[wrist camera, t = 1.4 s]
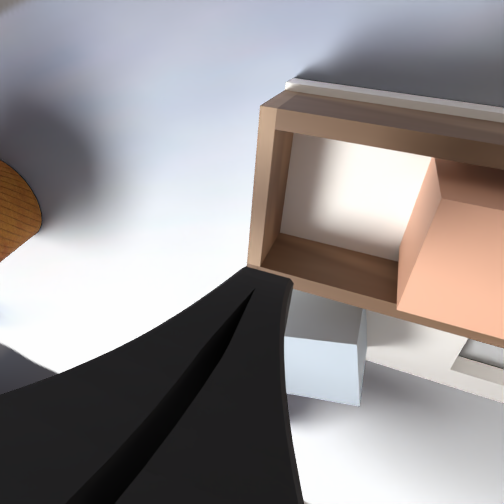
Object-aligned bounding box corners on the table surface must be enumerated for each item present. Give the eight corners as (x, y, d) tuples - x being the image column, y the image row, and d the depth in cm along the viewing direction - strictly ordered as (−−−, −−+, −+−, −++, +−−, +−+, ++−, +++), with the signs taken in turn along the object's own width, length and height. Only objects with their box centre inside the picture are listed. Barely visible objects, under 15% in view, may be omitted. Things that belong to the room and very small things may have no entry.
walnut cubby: (497, 299, 17) (513, 351, 14) (267, 241, 19) (246, 275, 17) (596, 136, 12) (643, 168, 10) (285, 89, 15) (260, 105, 13)
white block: (367, 346, 21) (359, 406, 18) (297, 338, 22) (279, 392, 19) (365, 288, 19) (356, 345, 16) (289, 284, 20) (268, 334, 17)
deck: (629, 425, 19) (640, 446, 18) (263, 313, 24) (257, 326, 23) (932, 167, 11) (980, 182, 10) (293, 77, 16) (285, 82, 15)
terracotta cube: (506, 273, 16) (534, 348, 12) (398, 247, 17) (396, 309, 13) (564, 175, 13) (620, 234, 10) (433, 152, 14) (441, 198, 11)
